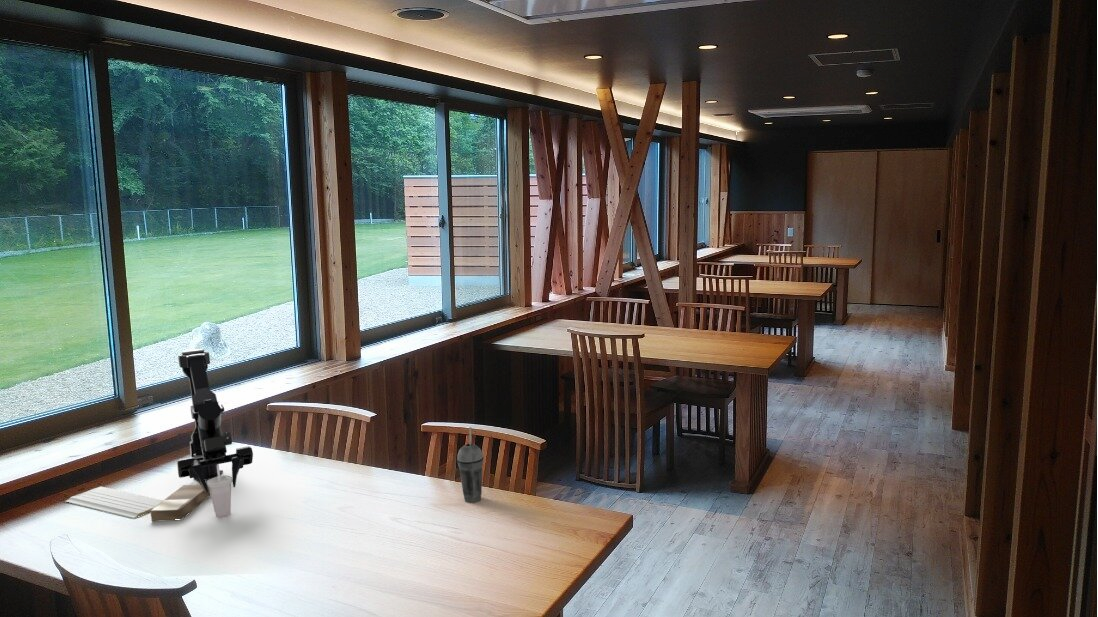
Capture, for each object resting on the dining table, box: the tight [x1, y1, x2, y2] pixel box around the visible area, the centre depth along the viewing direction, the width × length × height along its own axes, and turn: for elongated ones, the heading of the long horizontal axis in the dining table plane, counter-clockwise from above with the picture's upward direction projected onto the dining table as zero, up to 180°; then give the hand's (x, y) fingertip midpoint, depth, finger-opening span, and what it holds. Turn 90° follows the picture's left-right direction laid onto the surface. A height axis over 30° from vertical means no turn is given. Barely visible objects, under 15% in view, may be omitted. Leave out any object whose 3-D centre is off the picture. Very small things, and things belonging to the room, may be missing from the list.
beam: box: [149, 484, 211, 522], centre depth 215 cm, size 18×8×3 cm, turn 179°
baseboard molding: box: [60, 483, 164, 519], centre depth 220 cm, size 31×3×12 cm
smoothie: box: [206, 464, 233, 518], centre depth 208 cm, size 6×6×14 cm
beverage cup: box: [456, 426, 485, 504], centre depth 209 cm, size 7×7×20 cm
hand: (220, 489), depth 207 cm, fingers closed on smoothie, 6 cm apart
